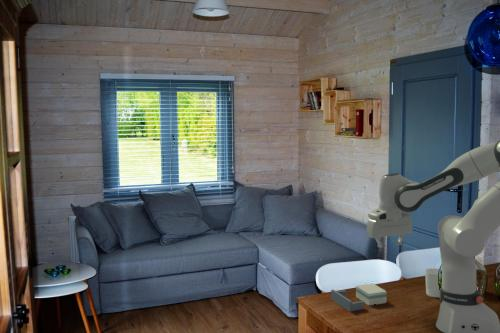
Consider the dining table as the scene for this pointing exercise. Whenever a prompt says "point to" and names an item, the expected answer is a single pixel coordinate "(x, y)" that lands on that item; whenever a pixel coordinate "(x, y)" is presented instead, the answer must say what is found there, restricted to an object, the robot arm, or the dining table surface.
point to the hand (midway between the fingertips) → (389, 246)
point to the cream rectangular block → (371, 294)
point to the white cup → (432, 283)
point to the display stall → (346, 301)
